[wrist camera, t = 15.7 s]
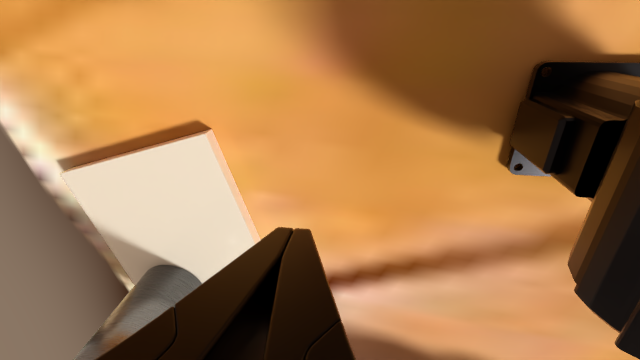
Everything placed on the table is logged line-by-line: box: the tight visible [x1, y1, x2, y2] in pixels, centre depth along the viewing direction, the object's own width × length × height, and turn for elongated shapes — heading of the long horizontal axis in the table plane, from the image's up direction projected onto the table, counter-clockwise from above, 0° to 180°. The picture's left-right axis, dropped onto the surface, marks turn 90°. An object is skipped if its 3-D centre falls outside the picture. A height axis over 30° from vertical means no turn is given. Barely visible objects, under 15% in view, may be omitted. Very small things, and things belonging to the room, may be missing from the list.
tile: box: [60, 129, 261, 285], centre depth 26 cm, size 20×12×1 cm, turn 17°
